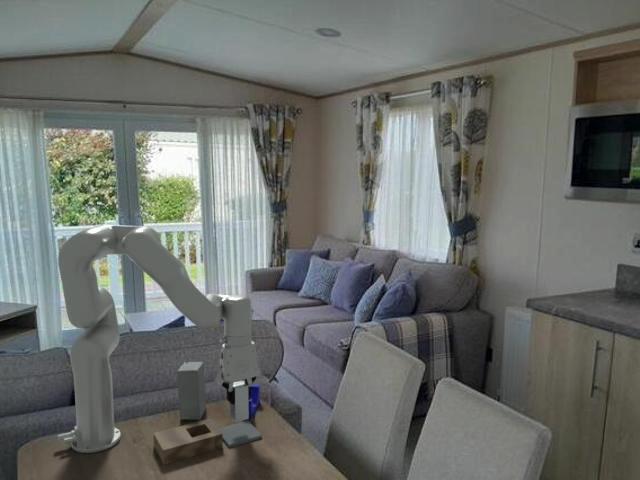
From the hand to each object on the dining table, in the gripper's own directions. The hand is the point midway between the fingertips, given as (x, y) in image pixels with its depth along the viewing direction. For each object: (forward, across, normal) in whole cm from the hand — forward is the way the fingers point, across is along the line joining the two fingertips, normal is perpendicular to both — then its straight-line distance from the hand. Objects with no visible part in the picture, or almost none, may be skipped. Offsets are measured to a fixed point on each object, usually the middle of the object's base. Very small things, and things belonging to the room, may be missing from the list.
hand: (239, 400), depth 142 cm
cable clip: (+11, +8, +13) cm, 19 cm away
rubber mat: (+10, 0, 0) cm, 10 cm away
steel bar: (+5, 0, 0) cm, 5 cm away
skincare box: (+11, -8, +19) cm, 23 cm away
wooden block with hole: (+10, -15, +1) cm, 18 cm away
